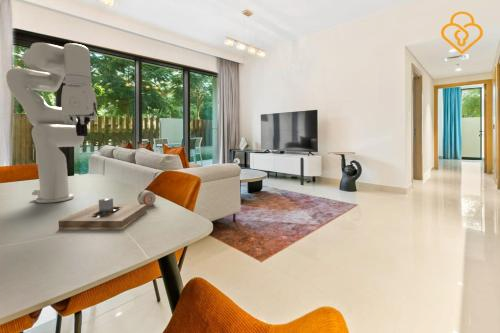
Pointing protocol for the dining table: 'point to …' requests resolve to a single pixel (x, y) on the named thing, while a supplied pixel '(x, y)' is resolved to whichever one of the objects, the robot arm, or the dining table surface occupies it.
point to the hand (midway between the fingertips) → (82, 135)
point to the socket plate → (103, 218)
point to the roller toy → (146, 198)
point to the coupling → (106, 207)
